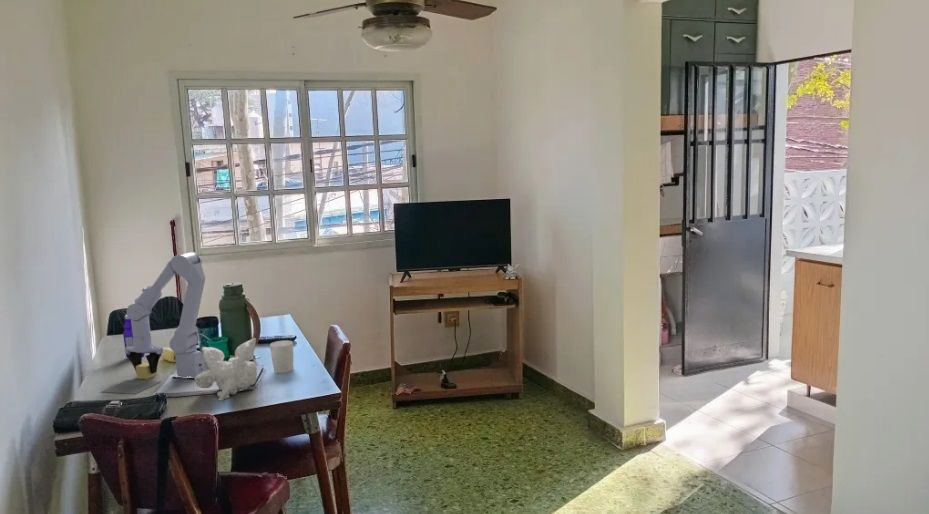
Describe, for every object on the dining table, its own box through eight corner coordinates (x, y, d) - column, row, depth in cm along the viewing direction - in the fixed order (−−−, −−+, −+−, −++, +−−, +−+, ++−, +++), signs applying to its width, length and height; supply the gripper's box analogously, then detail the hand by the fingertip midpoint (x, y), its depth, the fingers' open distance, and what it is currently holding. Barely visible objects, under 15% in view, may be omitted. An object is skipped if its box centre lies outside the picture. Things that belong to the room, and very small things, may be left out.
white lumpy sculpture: (268, 349, 230) (251, 332, 212) (268, 406, 222) (250, 394, 204) (213, 355, 229) (191, 339, 211) (211, 413, 221) (188, 401, 203)
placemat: (160, 382, 229) (160, 381, 229) (135, 394, 217) (135, 393, 217) (127, 380, 232) (127, 379, 232) (100, 392, 221) (100, 391, 221)
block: (156, 374, 238) (155, 362, 237) (147, 378, 233) (146, 366, 233) (146, 374, 239) (144, 362, 238) (137, 378, 235) (135, 366, 234)
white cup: (284, 366, 241) (281, 339, 239) (299, 368, 237) (297, 341, 235) (267, 372, 234) (265, 345, 233) (283, 375, 230) (281, 347, 229)
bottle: (135, 360, 258) (130, 316, 255) (123, 359, 259) (117, 316, 257) (148, 354, 265) (143, 312, 263) (135, 354, 266) (130, 312, 264)
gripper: (167, 333, 236) (171, 369, 238) (133, 332, 240) (137, 368, 242) (153, 338, 229) (157, 376, 231) (118, 337, 233) (123, 374, 235)
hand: (146, 372), depth 236 cm, fingers open, 6 cm apart
